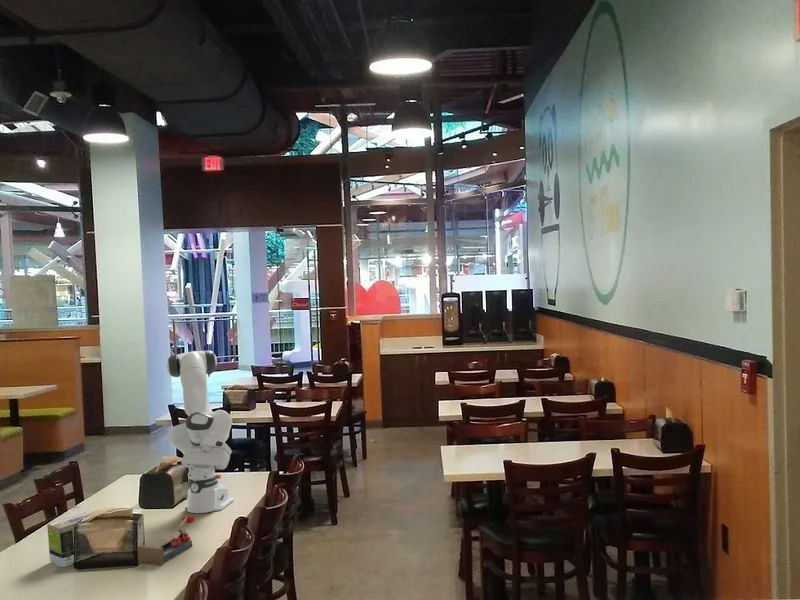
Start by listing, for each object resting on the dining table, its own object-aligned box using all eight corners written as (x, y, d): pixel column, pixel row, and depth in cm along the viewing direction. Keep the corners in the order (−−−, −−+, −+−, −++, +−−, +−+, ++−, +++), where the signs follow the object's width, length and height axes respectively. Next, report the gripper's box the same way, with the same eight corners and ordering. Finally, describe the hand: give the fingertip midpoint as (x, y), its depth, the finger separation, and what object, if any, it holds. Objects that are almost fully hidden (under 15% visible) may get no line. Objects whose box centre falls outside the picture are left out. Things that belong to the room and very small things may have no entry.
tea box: (88, 549, 276) (86, 511, 275) (102, 555, 269) (99, 516, 269) (49, 562, 264) (46, 522, 264) (62, 568, 258) (59, 527, 257)
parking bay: (172, 544, 277) (171, 529, 277) (193, 546, 273) (193, 531, 273) (138, 563, 259) (137, 546, 259) (161, 565, 256) (160, 549, 256)
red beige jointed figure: (169, 552, 269) (168, 526, 269) (187, 539, 282) (186, 514, 282) (178, 552, 268) (176, 526, 268) (195, 539, 282) (194, 514, 281)
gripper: (186, 441, 296) (172, 471, 287) (228, 443, 288) (215, 474, 279) (193, 449, 300) (180, 479, 291) (235, 451, 293) (222, 482, 284)
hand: (197, 476), depth 285 cm, fingers open, 6 cm apart
